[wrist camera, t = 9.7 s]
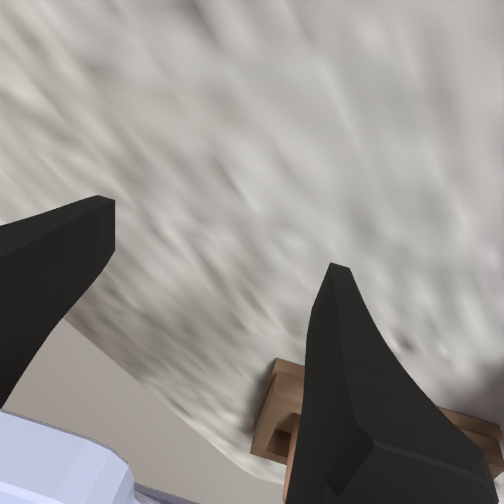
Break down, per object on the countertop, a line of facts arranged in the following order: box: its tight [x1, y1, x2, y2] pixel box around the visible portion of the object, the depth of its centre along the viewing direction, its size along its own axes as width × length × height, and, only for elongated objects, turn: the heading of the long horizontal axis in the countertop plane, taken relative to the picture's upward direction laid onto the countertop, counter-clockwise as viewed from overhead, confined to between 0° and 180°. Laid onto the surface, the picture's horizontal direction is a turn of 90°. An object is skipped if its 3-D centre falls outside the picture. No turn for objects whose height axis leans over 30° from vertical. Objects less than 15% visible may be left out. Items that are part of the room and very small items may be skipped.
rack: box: [250, 358, 504, 480], centre depth 30 cm, size 16×8×3 cm, turn 78°
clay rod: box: [283, 413, 301, 504], centre depth 28 cm, size 3×3×6 cm
